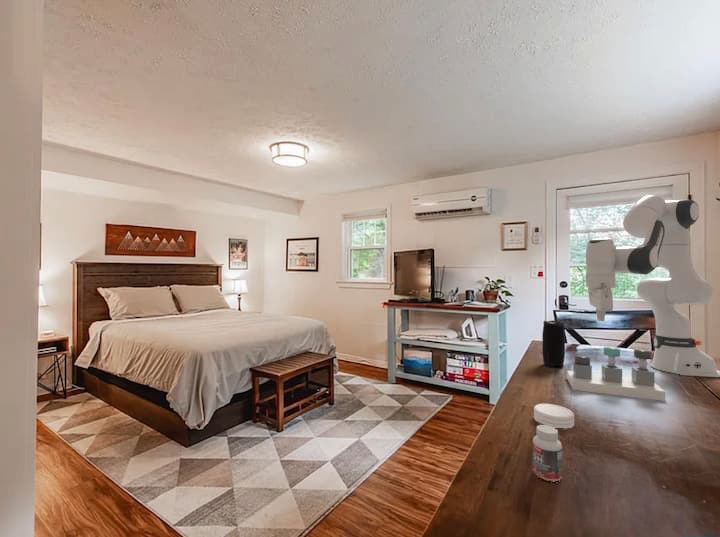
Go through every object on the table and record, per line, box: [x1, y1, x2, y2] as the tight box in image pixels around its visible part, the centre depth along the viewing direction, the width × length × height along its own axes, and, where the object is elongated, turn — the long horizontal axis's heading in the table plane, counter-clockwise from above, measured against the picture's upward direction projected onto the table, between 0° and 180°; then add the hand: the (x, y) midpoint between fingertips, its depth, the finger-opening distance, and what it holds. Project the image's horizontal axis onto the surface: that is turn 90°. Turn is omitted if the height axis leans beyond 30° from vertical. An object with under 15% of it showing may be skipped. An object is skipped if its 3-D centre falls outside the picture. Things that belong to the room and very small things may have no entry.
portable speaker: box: [541, 320, 566, 368], centre depth 155 cm, size 9×9×20 cm
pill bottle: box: [532, 424, 563, 481], centre depth 73 cm, size 5×5×10 cm
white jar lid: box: [533, 403, 575, 430], centre depth 99 cm, size 10×10×4 cm
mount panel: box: [566, 360, 666, 402], centre depth 126 cm, size 26×14×8 cm, turn 67°
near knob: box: [633, 348, 653, 370], centre depth 122 cm, size 5×5×6 cm
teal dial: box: [603, 346, 621, 367], centre depth 126 cm, size 5×5×7 cm
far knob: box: [574, 354, 591, 365], centre depth 129 cm, size 5×5×6 cm
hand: (600, 320), depth 128 cm, fingers closed
